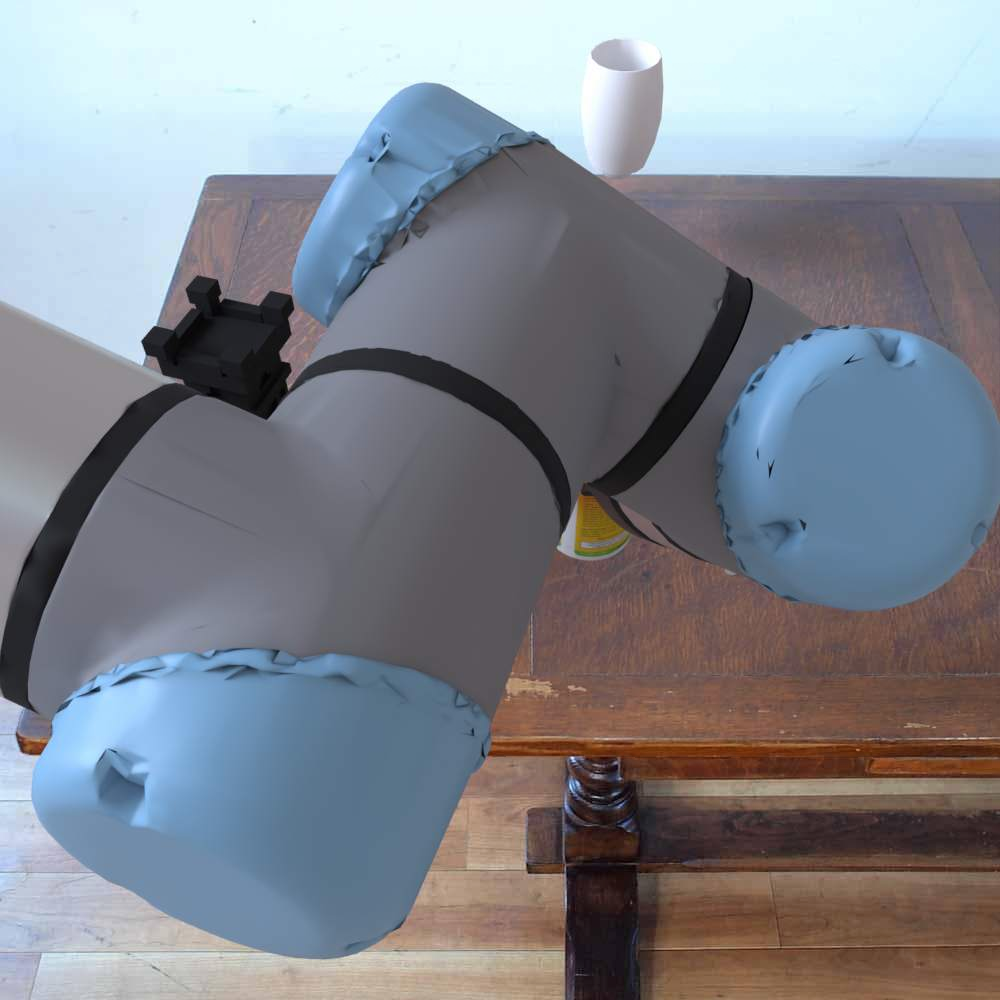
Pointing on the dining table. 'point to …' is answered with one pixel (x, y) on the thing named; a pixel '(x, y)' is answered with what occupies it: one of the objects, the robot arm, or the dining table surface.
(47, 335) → the robot arm
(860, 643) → the dining table surface
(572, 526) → the supplement bottle
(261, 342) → the chess piece
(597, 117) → the cup
